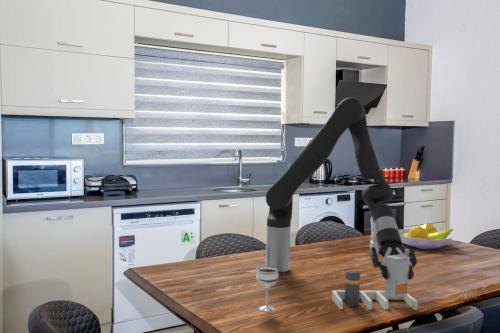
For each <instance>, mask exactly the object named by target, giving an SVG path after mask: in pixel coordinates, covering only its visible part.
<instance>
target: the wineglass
mask: <svg viewBox="0 0 500 333" xmlns="http://www.w3.org/2000/svg"><path fill="white" fill-rule="evenodd" d="M278 270H279V269H278V268H276V267H272V266H265V265H261V266H257V267H256V271H257V272H256V273H255V277H256V281H257V282H258V283H259V284H260V285H261V286H263V288H265V305H261V306H258V310H259V311H260V312H261V311H262V312H267V313H268V312H273V311H275V307H274V306H272V305H268V298H269V297H268V296H269V288H270V287H272V286H274V285H276V283H277V282H278V280H279V272H278Z"/></svg>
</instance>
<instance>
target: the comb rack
mask: <svg viewBox="0 0 500 333" xmlns="http://www.w3.org/2000/svg"><path fill="white" fill-rule="evenodd" d="M331 299H332V301H333V302H334V303H335V305H336V307H337V306H338V307H337V308H338V310H343V309H344V306H343V305H344V301H343V300H345V289H344V290H339V289H338V290H333V289H332V290H331ZM360 299H361V300H360ZM359 300H360V301H361V303H363V304H364V306H365V305H366V306H367V307H366V306H365V307H366V308H367V309H368V310H373V300H375V301H376V302H377V301H378V302H379V303H380V304H379V305H380V306H381V307H382V308H383V309H384V310H389V300H402V301H404V302H405V303H406V304H407V305H408V306H410V307H411V309H413V310H414V311H416V310H418V300H417V299H415V298H414V297H413V296H411V294H409V293H408V294H407V295H401V296H396V297H393V296H390V295H388V294H386V293H385V290H359ZM378 302H377V303H378Z"/></svg>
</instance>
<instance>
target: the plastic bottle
mask: <svg viewBox="0 0 500 333" xmlns="http://www.w3.org/2000/svg"><path fill="white" fill-rule="evenodd" d="M370 227H371V228H370V229H371V230H370V231H371V234H370V241H369V248H370V250H371V249H372V247H375V249H379V247H378V242H377V238H376V235H375V230H374V222H373V218H372V216H371V217H370Z"/></svg>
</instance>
